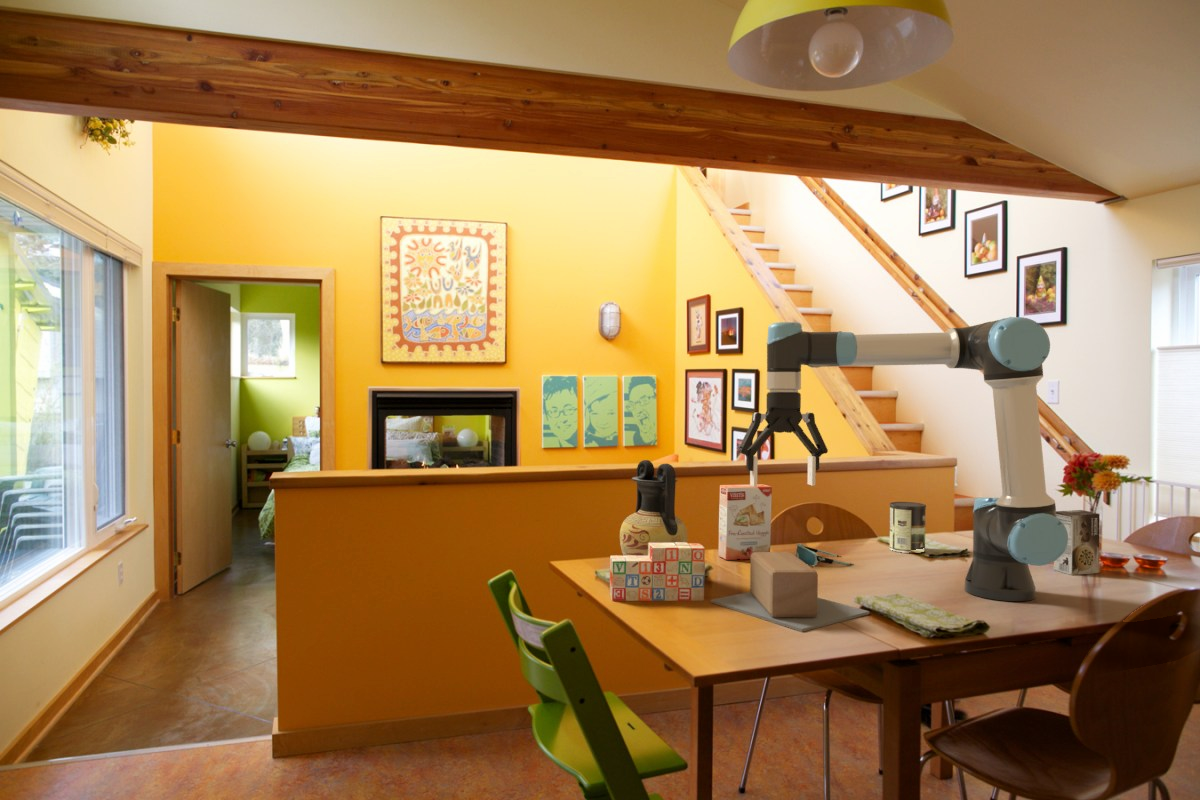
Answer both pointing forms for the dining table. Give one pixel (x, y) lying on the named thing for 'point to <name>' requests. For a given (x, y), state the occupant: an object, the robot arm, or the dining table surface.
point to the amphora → (652, 511)
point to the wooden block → (784, 585)
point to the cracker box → (744, 520)
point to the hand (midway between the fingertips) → (782, 485)
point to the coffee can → (907, 526)
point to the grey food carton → (1079, 543)
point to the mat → (825, 616)
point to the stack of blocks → (659, 573)
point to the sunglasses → (809, 556)
